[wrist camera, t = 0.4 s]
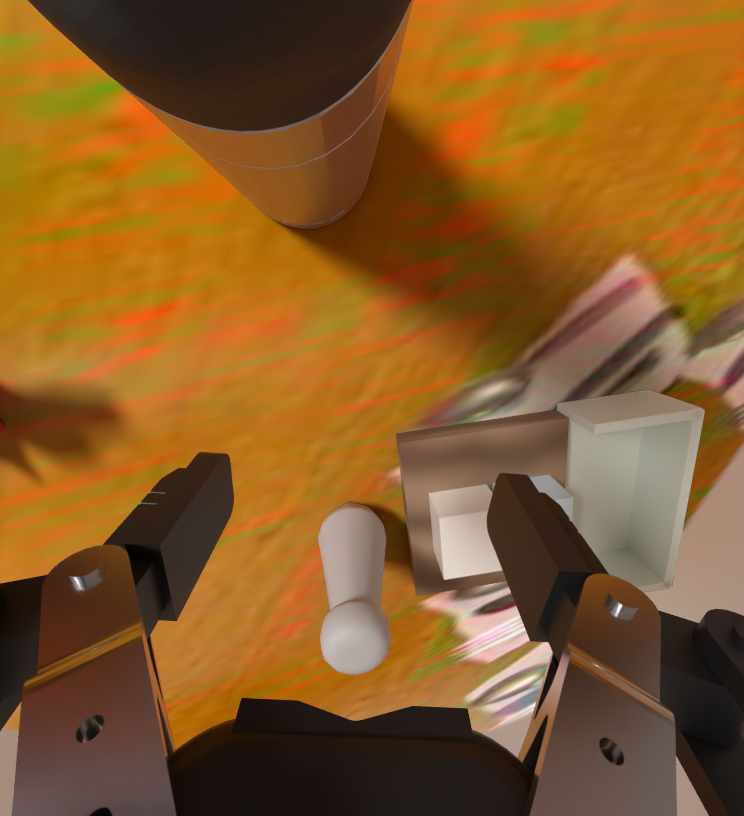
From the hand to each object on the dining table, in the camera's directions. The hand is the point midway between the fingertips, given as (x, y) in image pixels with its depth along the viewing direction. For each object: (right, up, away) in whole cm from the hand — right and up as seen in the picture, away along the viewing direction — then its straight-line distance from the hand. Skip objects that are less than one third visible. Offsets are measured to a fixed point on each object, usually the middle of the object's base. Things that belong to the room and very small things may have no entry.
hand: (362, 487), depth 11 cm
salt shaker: (-2, -8, +23) cm, 24 cm away
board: (+10, -6, +23) cm, 26 cm away
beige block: (+8, -7, +21) cm, 24 cm away
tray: (+21, -5, +23) cm, 32 cm away
